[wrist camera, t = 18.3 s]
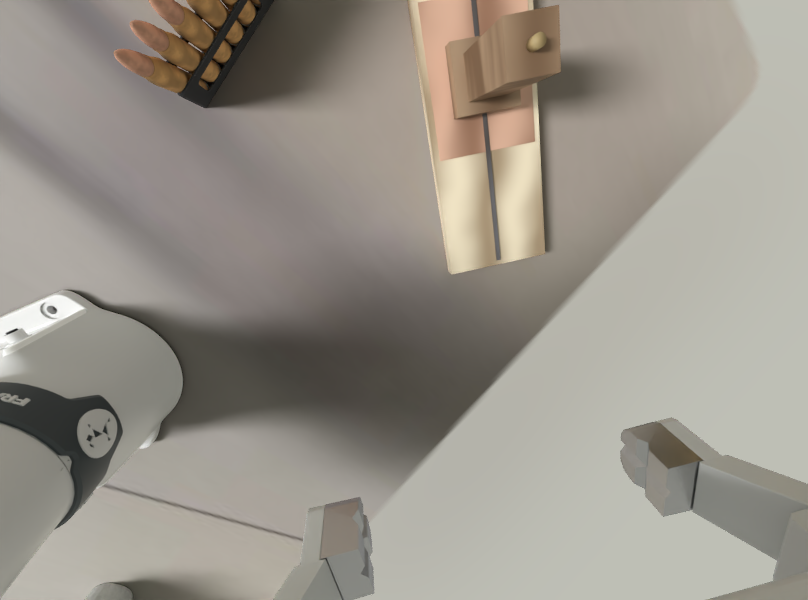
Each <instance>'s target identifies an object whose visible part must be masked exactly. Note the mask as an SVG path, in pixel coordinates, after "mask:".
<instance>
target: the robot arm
mask: <svg viewBox="0 0 808 600" xmlns="http://www.w3.org/2000/svg"><path fill="white" fill-rule="evenodd" d="M53 306H54V307H55V308H56V309H57V311H56V310H54V309H53ZM182 387H183V376H182V371H181V367H180V364H179V362H178V359H177V357H176V356H175V354H174V352H173V351H172V349H171V348H170V347H169V345H168V344H167V343H166V342H165V341H164V340H163V339H162V338H161V337H160V336H159V335H158V334H156V333H155V332H154V331H153V330H151V329H150V328H148V327H147V326H145V325H143V324H142V323H140V322H138V321H136V320H134V319H131V318H129V317H126V316H123V315H120V314H117V313H113V312H110V311H107V310H104V309H101V308H99V307H97V306H95V305H94V304H92V303H91V302H89V301H88V300H86V299H85V298H83V297H82V296H80V295H78V294H76V293H74V292H72V291H67V290H62V291H58V292H56V293H54V294H51V295H49V296H47V297H45V298H42V299H40V300H38V301H35V302H33V303H31V304H28V305H26V306H24V307H22V308H19V309H17V310H15V311H12V312H10V313H8V314H5V315H3V316H1V317H0V599H1V598H2V596H3V595H4V593H5V592H6V591H7V589H8V588H9V587H10V586H11V584H12V583H13V582H14V580H15V579H16V578H17V576H18V575H19V574H20V572H21V571H22V570H23V568H24V567H25V566H26V565H27V563H28V562H29V561H30V559H31V558H32V557H33V556H34V554H35V553H36V552H37V550H38V549H39V548H40V547H41V545H42V544H43V543H44V542H45V540H46V539H47V538H48V537H49V535H50V534H51V533H52V531H53V530H54V529H56V528H58V527H60V526H61V525H63V524H64V523H65V522H67V521H68V520H69V519H70V518H71V517H72V516H73V515H74V513H75V512H76V511H78V509H79V508H81V507H82V505H83V504H85V503H86V502H87V500H88V499H89V498H90V497H91V496H92V494H93V491H94V490H95V488H100V487H101V486H103V485H105V484H106V483H107V482H108V481H109V480H110V479H111V478H112V477H113V476H114V475H115V474H116V472H117V471H118V470H119V469H120V468H121V467H122V466H123V465H124V464H125V463H126V462H127V461H128V460H129V458H130V457H131V456H132V455H133V454H134V453H135V452H136V451H137V450H138V449H143V448H147V447H149V446H150V445H151V444H152V443H153V442H154V441H155V440H156V438H157V436H158V433H159V430H160V425H161V422H162V421H163V419H164V418H165V417H166V416H167V415H168V414H169V413H170V412H171V411H172V410H173V408H174V407H175V406H176V404H177V402H178V401H179V398H180V396H181V393H182ZM621 441H622V442H623V443H624V444H625V446H624V447H623V449H622V450H621V462H622V465H623V468H624V470H625V472H626V473H627V475H628V476H629V478H630V479H631V480H632V481H633V482H634V483H635V484H636V485H638V486H640V487H642V488H645V496H646V498H647V499H648V500H649V501H650V502H651V503H652V504H653V506H654V507H655V508H656V509H657V510H658V511H659V512H660V513H661V515H662V516H663V517H664V516H668V515H672V514H677V513H681V512H686V511H690V510H693V512H694V513H696V514H697V515H699V516H701V517H703V518H704V519H706V520H708V521H710V522H712V523H713V524H715V525H717V526H718V527H720V528H722V529H723V530H725V531H727V532H729V533H730V534H732V535H734V536H736V537H737V538H739V539H741V540H742V541H744V542H746V543H748V544H749V545H751V546H753V547H755V548H756V549H758V550H760V551H761V552H763V553H765V554H767V555H768V556H770V557H772V558H774V559H775V560H777V564H776V567H775V571H774V575H773V581H772V582H769V583H765V584H762V585H758V586H754V587H751V588H747V589H744V590H740V591H737V592H733V593H729V594H726V595H722V596H718V597H715V598H711V599H707V600H808V484H806V483H804V482H801V481H798V480H795V479H792V478H790V477H787V476H784V475H782V474H779V473H776V472H773V471H770V470H768V469H765V468H762V467H759V466H756V465H754V464H751V463H748V462H745V461H743V460H740V459H737V458H734V457H732V456H729V455H724V456H722V455H720V454H719V453H718V452H717V451H715V450H714V449H713V448H711V447H710V446H709V445H708V444H707V443H705V442H704V441H703V440H701V439H700V438H699V437H698V436H697V435H695V434H694V433H693V432H691V431H690V430H689V429H688V428H687V427H685V426H684V425H682V424H681V423H680V422H679V421H678V420H676V419H674V418H668V419H664V420H660V421H656V422H651V423H647V424H644V425H640V426H636V427H633V428H629V429H625V430H623V432H622V434H621ZM371 553H372V539H371V532H370V527H369V522H368V519H367V516H366V515H364V514H363V504H362V501H361V498H360V497H357V498H353V499H349V500H344V501H340V502H335V503H331V504H326V505H323V506H318V507H314V508H310V509H309V510H308V513H307V516H306V523H305V531H304V538H303V546H302V553H301V560H300V565H299V566H296V567H294V569H293V570H292V572H291V573H290V575H289V576H288V578H287V579H286V581H285V582H284V583H283V585H282V586H281V588H280V589H279V591H278V592H277V594H276V595H275V597H274V598H273V600H353V599H357V598H360V597H364V596H367V595H370V594H374V576H373V566H372V563H371V560H370V555H371Z"/></svg>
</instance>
